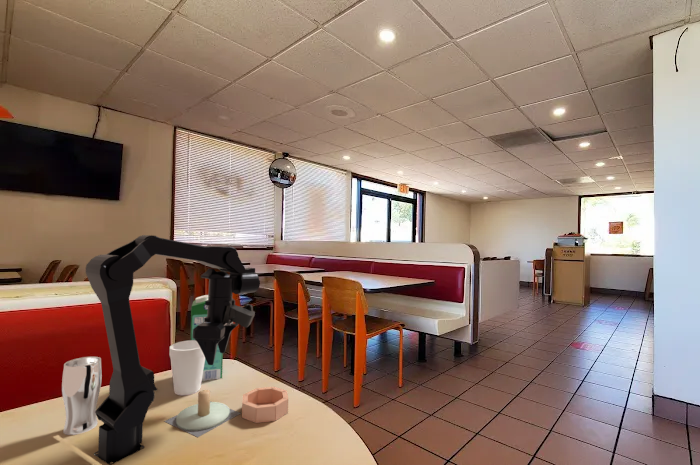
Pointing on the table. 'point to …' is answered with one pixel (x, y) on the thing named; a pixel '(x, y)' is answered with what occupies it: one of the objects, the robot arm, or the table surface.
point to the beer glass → (81, 393)
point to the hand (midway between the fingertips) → (217, 358)
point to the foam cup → (187, 366)
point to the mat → (200, 432)
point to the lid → (202, 414)
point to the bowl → (264, 404)
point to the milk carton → (197, 318)
